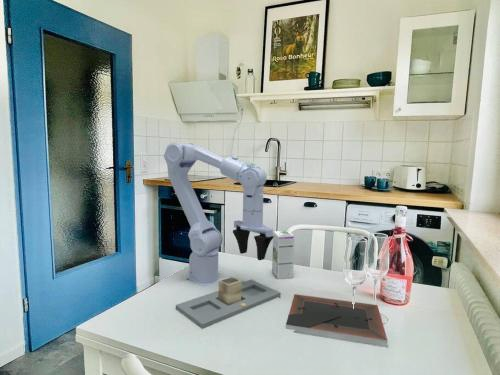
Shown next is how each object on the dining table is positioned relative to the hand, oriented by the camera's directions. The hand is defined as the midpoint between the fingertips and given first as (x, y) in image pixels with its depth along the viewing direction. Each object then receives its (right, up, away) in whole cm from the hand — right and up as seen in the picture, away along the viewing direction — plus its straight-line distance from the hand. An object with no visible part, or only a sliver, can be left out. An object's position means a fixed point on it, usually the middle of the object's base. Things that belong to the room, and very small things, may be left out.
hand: (252, 256), depth 94 cm
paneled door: (-6, -11, -8) cm, 15 cm away
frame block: (-6, -11, -8) cm, 15 cm away
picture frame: (+20, -14, -14) cm, 28 cm away
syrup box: (+10, -9, +13) cm, 19 cm away
